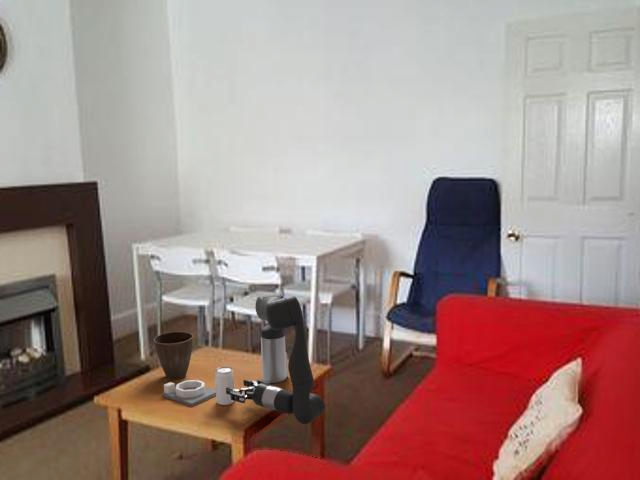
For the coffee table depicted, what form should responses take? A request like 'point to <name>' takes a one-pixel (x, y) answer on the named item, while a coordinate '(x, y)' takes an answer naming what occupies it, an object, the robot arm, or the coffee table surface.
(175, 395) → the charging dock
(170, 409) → the coffee table surface
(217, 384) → the can
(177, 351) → the plant pot
